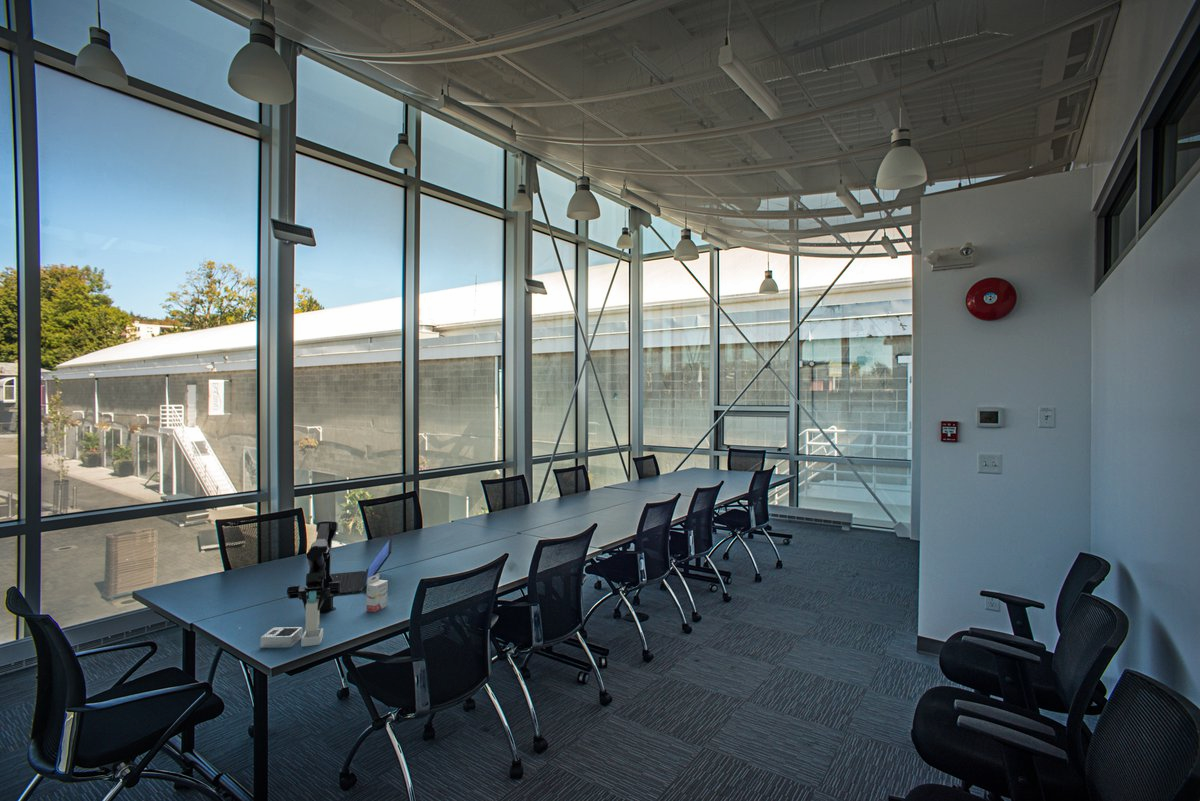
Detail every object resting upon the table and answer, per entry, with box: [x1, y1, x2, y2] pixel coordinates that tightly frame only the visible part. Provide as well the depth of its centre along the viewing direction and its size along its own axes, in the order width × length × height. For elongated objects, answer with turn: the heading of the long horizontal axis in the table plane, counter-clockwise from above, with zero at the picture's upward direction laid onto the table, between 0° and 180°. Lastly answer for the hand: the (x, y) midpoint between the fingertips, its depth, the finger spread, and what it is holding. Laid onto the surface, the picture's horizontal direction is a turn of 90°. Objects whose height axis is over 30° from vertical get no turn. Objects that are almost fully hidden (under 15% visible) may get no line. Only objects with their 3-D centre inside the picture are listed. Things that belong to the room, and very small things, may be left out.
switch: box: [260, 626, 304, 649], centre depth 220 cm, size 11×9×4 cm
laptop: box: [306, 536, 393, 599], centre depth 289 cm, size 33×38×19 cm
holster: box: [300, 627, 324, 647], centre depth 221 cm, size 6×8×3 cm
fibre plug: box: [305, 590, 320, 631], centre depth 221 cm, size 4×6×14 cm, turn 18°
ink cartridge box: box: [365, 572, 389, 613], centre depth 256 cm, size 9×5×15 cm, turn 163°
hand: (312, 610), depth 220 cm, fingers closed on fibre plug, 4 cm apart
